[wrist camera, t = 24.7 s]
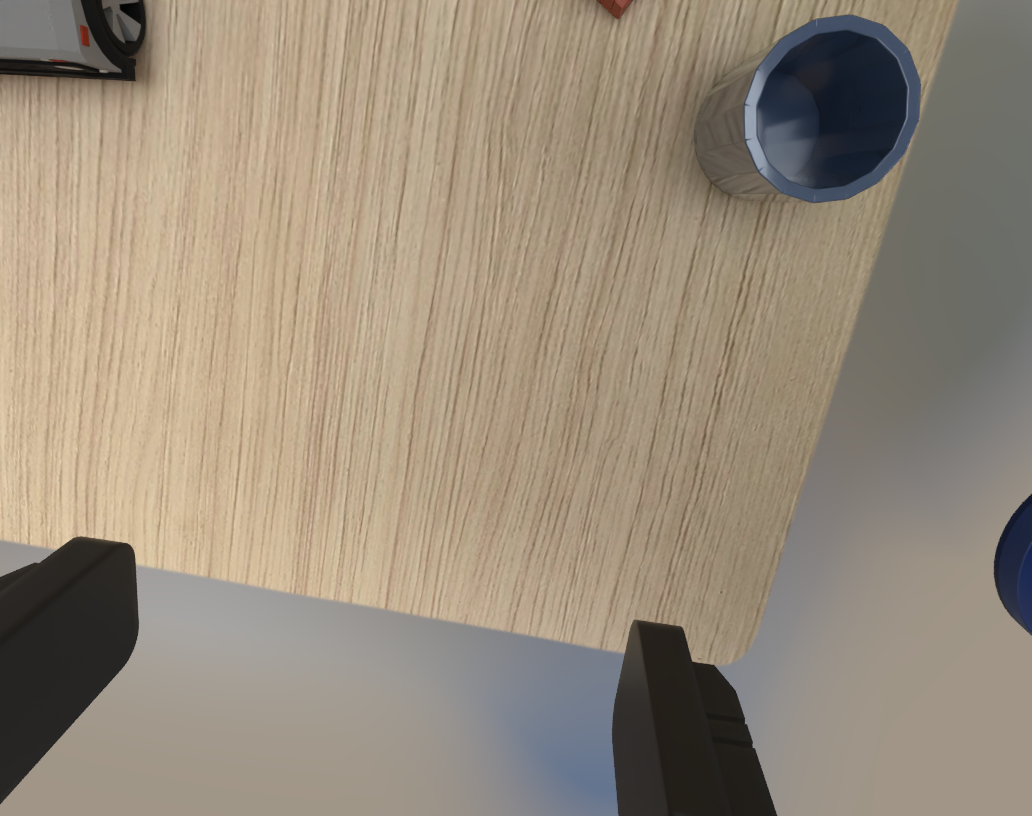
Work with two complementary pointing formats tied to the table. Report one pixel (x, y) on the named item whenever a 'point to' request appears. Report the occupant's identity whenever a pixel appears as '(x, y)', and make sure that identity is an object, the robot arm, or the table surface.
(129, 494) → the table surface
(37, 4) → the toy car
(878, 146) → the slate cup
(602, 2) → the rust tray
